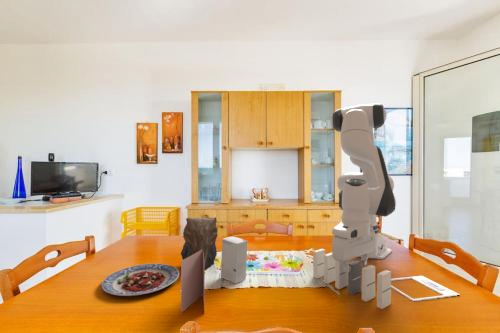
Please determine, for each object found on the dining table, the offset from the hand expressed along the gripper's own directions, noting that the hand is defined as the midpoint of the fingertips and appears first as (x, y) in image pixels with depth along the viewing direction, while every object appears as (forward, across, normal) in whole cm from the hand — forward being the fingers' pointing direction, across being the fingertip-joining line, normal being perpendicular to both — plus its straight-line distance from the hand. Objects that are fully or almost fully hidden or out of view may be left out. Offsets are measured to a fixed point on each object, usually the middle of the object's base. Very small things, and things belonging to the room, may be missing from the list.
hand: (355, 268), depth 88 cm
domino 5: (+8, +1, +5) cm, 9 cm away
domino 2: (+8, 0, -10) cm, 13 cm away
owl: (+8, +34, -50) cm, 61 cm away
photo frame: (+9, -20, +11) cm, 25 cm away
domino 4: (+8, 0, 0) cm, 8 cm away
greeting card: (+8, +46, -22) cm, 52 cm away
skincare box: (+8, +28, -32) cm, 44 cm away
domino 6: (+8, +1, +10) cm, 13 cm away
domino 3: (+8, 0, -5) cm, 9 cm away
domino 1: (+8, 0, -15) cm, 17 cm away
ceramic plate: (+8, +57, -48) cm, 75 cm away
